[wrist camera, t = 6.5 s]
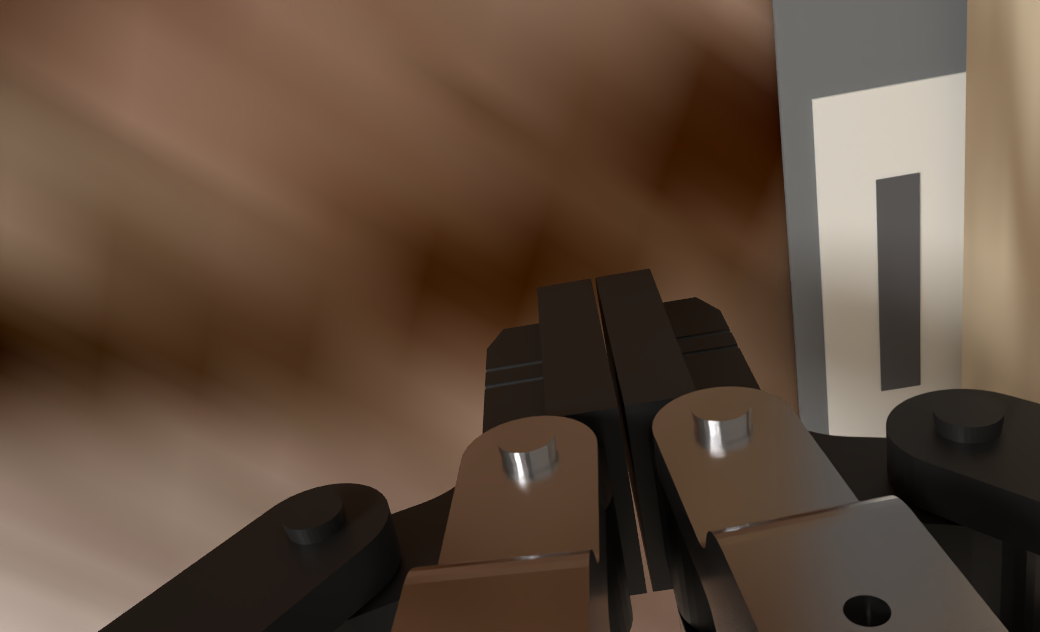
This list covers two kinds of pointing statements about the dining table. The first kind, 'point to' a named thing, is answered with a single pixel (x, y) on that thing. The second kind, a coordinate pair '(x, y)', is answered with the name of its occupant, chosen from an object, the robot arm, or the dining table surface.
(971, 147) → the swing arm
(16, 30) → the dining table surface
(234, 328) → the dining table surface
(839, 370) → the label mat
